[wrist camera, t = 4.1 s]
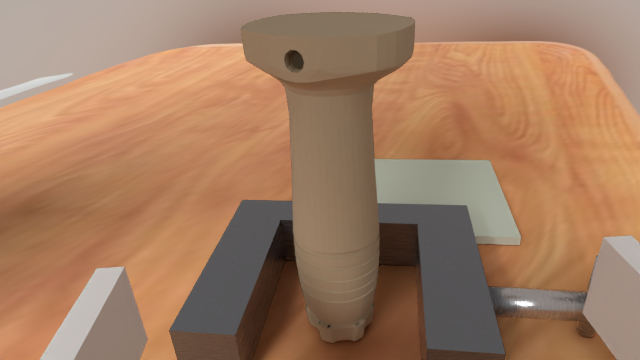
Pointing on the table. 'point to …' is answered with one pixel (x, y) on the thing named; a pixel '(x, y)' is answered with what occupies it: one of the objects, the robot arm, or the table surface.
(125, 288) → the robot arm
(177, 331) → the vise
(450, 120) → the table surface
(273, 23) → the handle
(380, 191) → the mat
